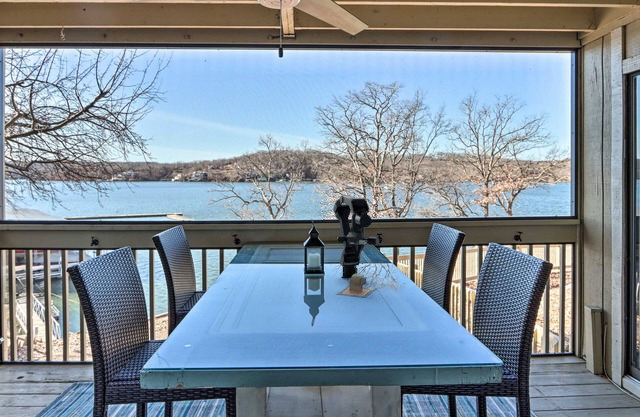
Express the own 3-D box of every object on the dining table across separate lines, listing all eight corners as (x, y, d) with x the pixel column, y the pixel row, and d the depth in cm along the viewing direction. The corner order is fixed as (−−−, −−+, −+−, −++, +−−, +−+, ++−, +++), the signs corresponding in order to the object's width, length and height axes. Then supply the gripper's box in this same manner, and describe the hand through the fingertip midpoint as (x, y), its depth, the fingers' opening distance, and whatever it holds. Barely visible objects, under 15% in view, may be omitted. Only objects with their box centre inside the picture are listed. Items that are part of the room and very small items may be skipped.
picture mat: (336, 294, 178) (336, 293, 178) (348, 285, 191) (348, 285, 191) (365, 297, 172) (365, 297, 172) (376, 288, 186) (376, 288, 186)
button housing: (349, 284, 194) (349, 279, 194) (354, 281, 199) (354, 276, 199) (362, 285, 191) (362, 280, 191) (366, 282, 197) (366, 277, 197)
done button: (352, 279, 194) (352, 275, 194) (355, 277, 198) (355, 273, 198) (361, 280, 192) (361, 276, 192) (364, 278, 196) (364, 274, 196)
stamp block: (352, 289, 184) (352, 276, 184) (362, 290, 182) (362, 277, 182) (349, 292, 180) (349, 278, 179) (359, 293, 178) (359, 279, 178)
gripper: (332, 225, 190) (332, 260, 191) (372, 227, 182) (372, 263, 183) (341, 223, 200) (341, 255, 201) (379, 224, 192) (379, 258, 193)
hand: (358, 258), depth 194 cm, fingers closed
